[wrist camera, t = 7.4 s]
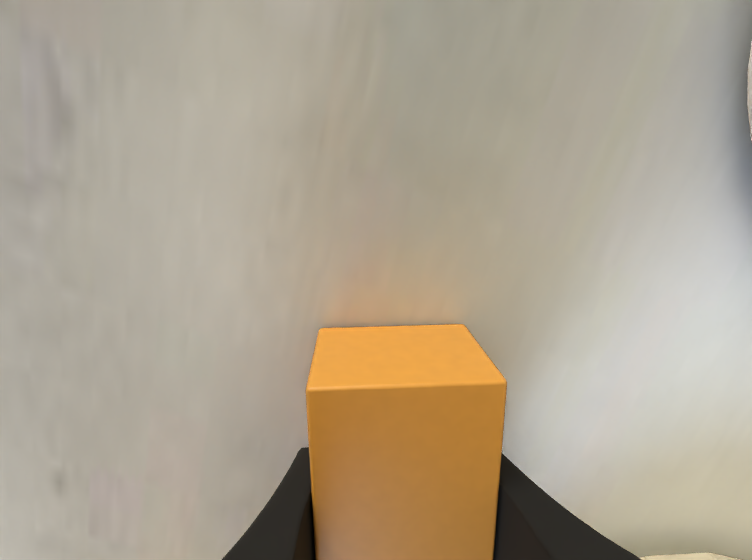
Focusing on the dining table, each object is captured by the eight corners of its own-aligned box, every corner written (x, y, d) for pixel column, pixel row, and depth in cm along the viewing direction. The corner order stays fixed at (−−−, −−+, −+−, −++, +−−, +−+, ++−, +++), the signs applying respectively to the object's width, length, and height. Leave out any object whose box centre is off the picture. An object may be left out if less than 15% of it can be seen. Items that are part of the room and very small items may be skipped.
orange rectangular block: (453, 547, 14) (486, 667, 11) (329, 555, 14) (321, 679, 11) (464, 323, 12) (509, 381, 9) (318, 327, 12) (304, 388, 9)
